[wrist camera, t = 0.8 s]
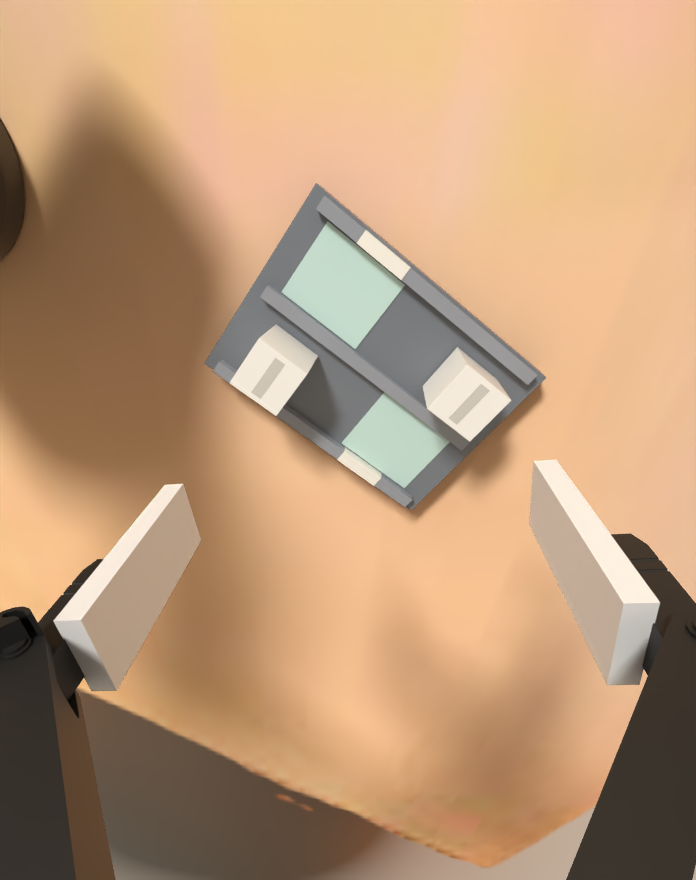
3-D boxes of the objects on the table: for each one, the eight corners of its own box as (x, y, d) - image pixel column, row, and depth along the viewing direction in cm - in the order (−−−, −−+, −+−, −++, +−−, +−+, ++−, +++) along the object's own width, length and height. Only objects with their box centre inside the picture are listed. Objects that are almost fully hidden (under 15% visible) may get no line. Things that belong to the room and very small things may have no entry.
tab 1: (249, 364, 36) (229, 382, 32) (276, 324, 35) (258, 338, 30) (290, 393, 37) (275, 416, 32) (318, 355, 35) (307, 374, 31)
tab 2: (422, 386, 36) (426, 408, 31) (457, 346, 34) (467, 364, 30) (460, 415, 36) (469, 441, 32) (496, 378, 35) (511, 400, 30)
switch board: (213, 357, 38) (200, 366, 36) (320, 185, 32) (314, 181, 30) (410, 498, 43) (411, 515, 40) (538, 370, 37) (549, 380, 34)
